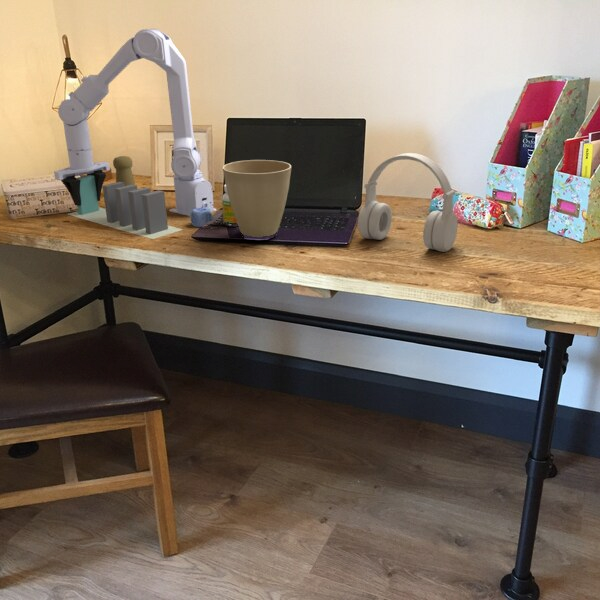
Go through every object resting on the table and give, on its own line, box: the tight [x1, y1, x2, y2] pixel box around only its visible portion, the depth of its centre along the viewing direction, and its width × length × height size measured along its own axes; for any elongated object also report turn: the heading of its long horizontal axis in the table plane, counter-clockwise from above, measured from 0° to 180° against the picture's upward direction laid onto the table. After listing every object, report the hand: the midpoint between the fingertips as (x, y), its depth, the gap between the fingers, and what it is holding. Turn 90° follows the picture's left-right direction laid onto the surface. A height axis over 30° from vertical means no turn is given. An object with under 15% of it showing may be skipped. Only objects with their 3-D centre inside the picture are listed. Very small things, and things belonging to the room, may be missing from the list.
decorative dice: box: [189, 208, 214, 228], centre depth 157 cm, size 4×4×4 cm
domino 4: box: [128, 186, 152, 231], centre depth 155 cm, size 2×5×9 cm, turn 140°
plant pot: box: [222, 159, 292, 237], centre depth 146 cm, size 15×15×16 cm
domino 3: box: [115, 184, 138, 227], centre depth 158 cm, size 2×5×9 cm, turn 140°
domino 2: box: [102, 181, 125, 223], centre depth 161 cm, size 2×5×9 cm, turn 140°
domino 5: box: [142, 189, 169, 234], centre depth 152 cm, size 2×5×9 cm, turn 140°
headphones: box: [357, 152, 459, 253], centre depth 139 cm, size 20×8×19 cm, turn 56°
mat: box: [66, 206, 184, 240], centre depth 161 cm, size 34×9×1 cm, turn 50°
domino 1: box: [76, 175, 100, 215], centre depth 168 cm, size 2×5×9 cm, turn 140°
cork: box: [112, 155, 136, 186], centre depth 184 cm, size 6×6×11 cm
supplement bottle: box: [221, 183, 237, 223], centre depth 156 cm, size 5×5×10 cm
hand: (87, 202), depth 169 cm, fingers closed on domino 1, 5 cm apart
